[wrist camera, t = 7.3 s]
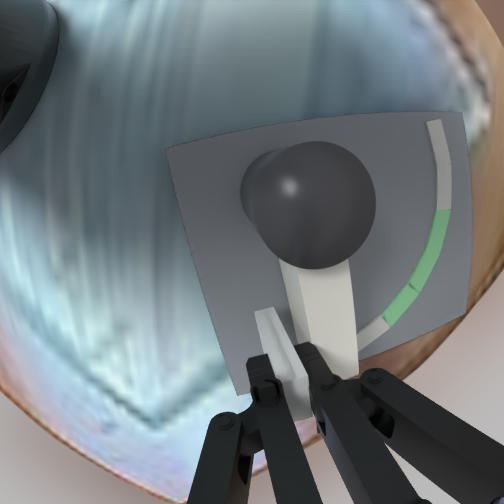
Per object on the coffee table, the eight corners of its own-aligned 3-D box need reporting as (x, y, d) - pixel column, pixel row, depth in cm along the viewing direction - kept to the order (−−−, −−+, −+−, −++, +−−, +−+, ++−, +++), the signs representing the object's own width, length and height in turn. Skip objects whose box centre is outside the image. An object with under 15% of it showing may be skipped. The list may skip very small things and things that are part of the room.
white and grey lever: (230, 160, 16) (238, 157, 10) (314, 141, 16) (363, 131, 10) (283, 363, 20) (305, 423, 14) (348, 341, 20) (385, 392, 15)
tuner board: (235, 383, 22) (237, 397, 21) (168, 150, 17) (164, 148, 15) (456, 306, 24) (466, 314, 22) (450, 113, 18) (463, 112, 16)
